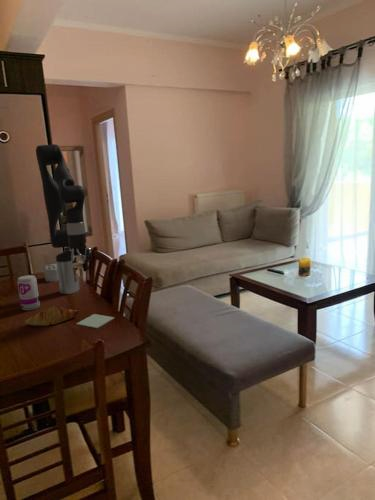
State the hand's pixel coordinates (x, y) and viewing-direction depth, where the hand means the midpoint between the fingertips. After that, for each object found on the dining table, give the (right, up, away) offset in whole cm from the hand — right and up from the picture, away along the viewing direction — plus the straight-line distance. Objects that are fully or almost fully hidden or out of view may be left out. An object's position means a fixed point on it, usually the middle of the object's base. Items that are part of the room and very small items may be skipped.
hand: (80, 270), depth 164 cm
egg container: (-33, -9, +60) cm, 69 cm away
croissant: (-10, -22, -6) cm, 25 cm away
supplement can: (-27, -18, +11) cm, 34 cm away
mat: (+9, -21, -9) cm, 24 cm away
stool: (0, -5, +1) cm, 5 cm away
